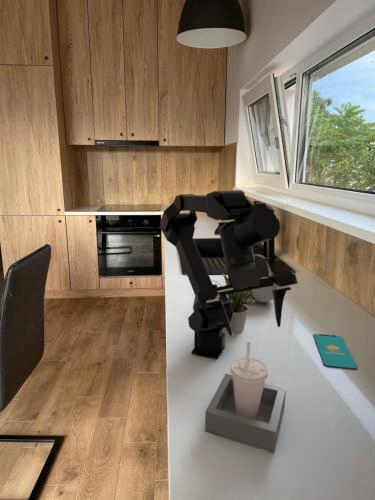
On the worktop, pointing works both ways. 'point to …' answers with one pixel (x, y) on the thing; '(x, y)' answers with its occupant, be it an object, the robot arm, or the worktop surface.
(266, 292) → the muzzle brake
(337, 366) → the smartphone
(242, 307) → the house plant
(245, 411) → the smoothie
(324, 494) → the worktop surface
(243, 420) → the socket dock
